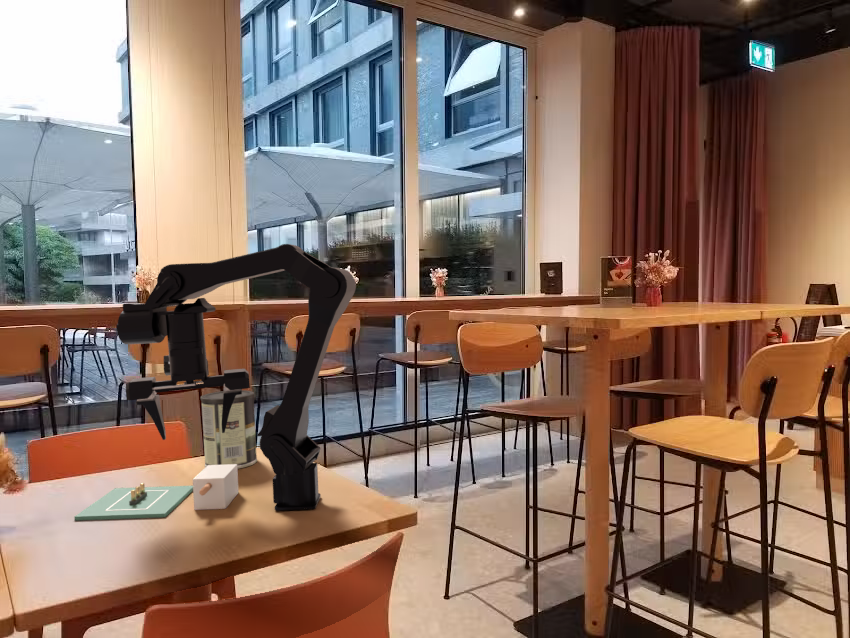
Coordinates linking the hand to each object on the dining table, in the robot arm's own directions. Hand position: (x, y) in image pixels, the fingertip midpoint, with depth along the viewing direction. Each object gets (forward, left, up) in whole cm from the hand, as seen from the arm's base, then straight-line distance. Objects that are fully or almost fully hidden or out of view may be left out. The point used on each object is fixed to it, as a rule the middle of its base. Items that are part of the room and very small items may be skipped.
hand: (194, 435), depth 108 cm
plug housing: (-3, +1, -11) cm, 12 cm away
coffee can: (+1, -24, -12) cm, 26 cm away
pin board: (+10, -1, -11) cm, 15 cm away
